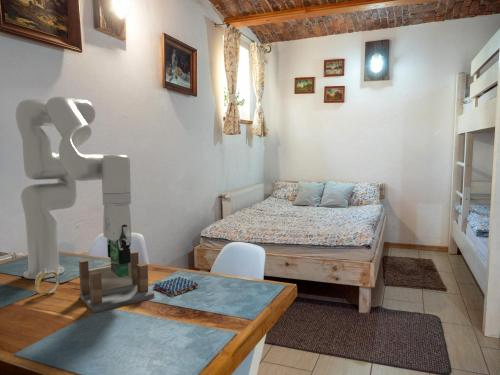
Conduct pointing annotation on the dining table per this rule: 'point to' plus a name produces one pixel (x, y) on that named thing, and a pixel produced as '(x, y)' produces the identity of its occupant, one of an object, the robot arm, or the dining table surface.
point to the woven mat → (175, 286)
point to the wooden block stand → (113, 285)
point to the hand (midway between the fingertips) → (119, 259)
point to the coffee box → (115, 266)
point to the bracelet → (43, 276)
